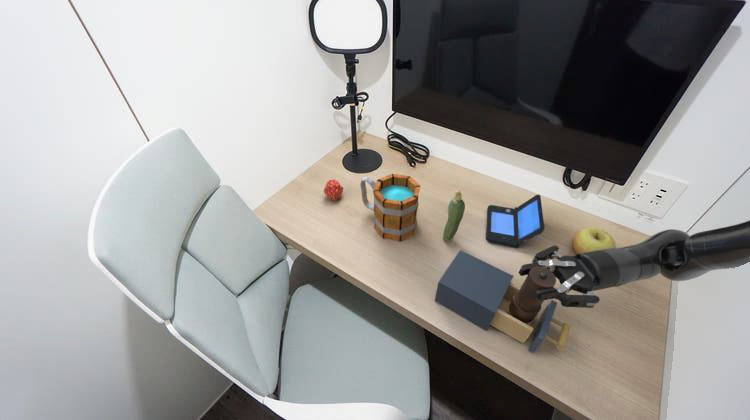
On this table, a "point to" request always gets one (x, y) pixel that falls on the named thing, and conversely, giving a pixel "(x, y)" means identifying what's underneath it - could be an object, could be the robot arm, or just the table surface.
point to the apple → (592, 240)
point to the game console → (515, 223)
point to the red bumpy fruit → (333, 189)
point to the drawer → (523, 330)
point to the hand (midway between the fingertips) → (528, 283)
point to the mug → (393, 205)
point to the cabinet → (472, 289)
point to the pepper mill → (531, 294)
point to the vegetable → (454, 216)
